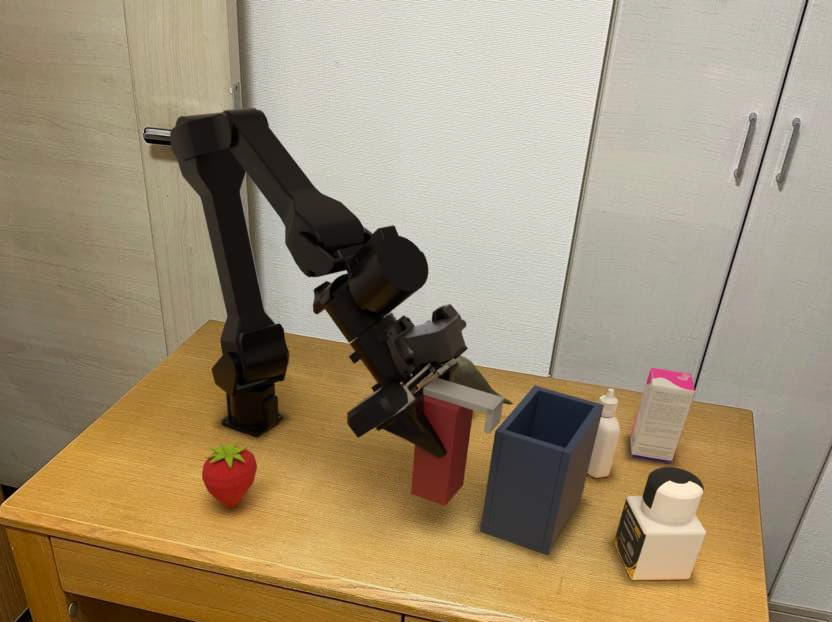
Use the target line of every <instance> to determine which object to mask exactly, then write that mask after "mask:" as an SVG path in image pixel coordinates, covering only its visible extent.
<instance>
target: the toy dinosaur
mask: <svg viewBox="0 0 832 622" xmlns="http://www.w3.org/2000/svg"><path fill="white" fill-rule="evenodd" d="M402 316H403V315H400V318H401V317H402ZM457 362H458V363H459V367H458V368H457V370H456V374H455V378H454V383H456V384H459V385H463V386H466V387H469V388H473V389H476V390H479V391H483V392H486V393H490V394H493V395H496V396H500V397H503V398H504V401H503V405H508V406H509V405H510V406H511V405H514V402H513V401H512V400H511V399H508V398H506V397H504V396H503V395H501V394H500V393H498V391H496V390H495V389H493V388H492V387H491V384H489V381H488V380H487V379H486V377H485V376H484V375H483V374H482V373H481V372H480V371H479V369H477V367H476V365H475V364H474V363H473V362H472V361H471V360H470V359H469V358H467V357H466V356H464V355H460V356H459V357H458V358H456V359H452V360H450V361H449V362H447V365H448V366H449V367H451V366H452V365H454V364H456V363H457ZM410 375H411V373H410ZM418 389H419V388H418V386H417V385H416V386H415V387H414V388H413V389H412V390H411V391H410V392H411V394H412V395H413V393H414V392H415V391H417V390H418ZM413 397H414V396H413ZM414 398H415V399H416V397H414Z"/></svg>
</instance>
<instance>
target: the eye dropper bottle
mask: <svg viewBox="0 0 832 622" xmlns="http://www.w3.org/2000/svg"><path fill="white" fill-rule="evenodd" d="M597 403H599V404H603V405H604V407H603V411H602V415H601V419H600V423H599V427H598V431H597V436H596V440H595V444H594V448H593V452H592V456H591V460H590V464H589V469H588V473H587V475H589V476H590V477H592V478H595V479H600V478H605V477H609V476H610V473H611V469H612V465H613V461H614V457H615V453H616V450H617V447H618V443H619V438H620V434H621V426H620V423H619V420H618V418H617V417H616V416H615V415H616V412H617V408H618V404H619V399H618V398H617V397H615V389H614V388H608V390H607V392H606V394H603V395H601V396H599V398H598V402H597Z"/></svg>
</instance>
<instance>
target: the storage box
mask: <svg viewBox="0 0 832 622" xmlns="http://www.w3.org/2000/svg"><path fill="white" fill-rule="evenodd" d="M603 407H604V405H603V404H599V403H598V402H595V401H591V400H589V399H584V398H580V397H577V396H574V395H570V394H567V393H564V392H561V391H556V390H553V389H548V388H545V387H542V386H538V385H536V384H535V385H533V386H532V387H531V388H530V390H529V391H528V392H527V393H526V394H525V396H523V398H522V399H521V400H520V401H519V402H518V404H517V405H516V406H515V407H514V409H512V411H511V412H510V413H509V414H508V415H507V416H506V418H505V419H504V420H503V421H502V422H501V424H500V425H498V427H497V428H496V429H495V431H494V437H493V444H492V450H491V455H490V463H489V470H488V477H487V483H486V490H485V496H484V503H483V508H482V509H483V510H482V516H481V523H480V530H479V531H480V532H481V533H484V534H486V535H490V536H493V537H495V538H498V539H500V540H504V541H507V542H510V543H513V544H516V545H518V546H521V547H524V548H526V549H530V550H532V551H535V552H538V553H540V554H544V555H546V556H548V555H549V554H550V553H551V551H552V550H553V548H554V546H555V545H556V543H557V541H558V539H559V538H560V537H561V535H562V533H563V531H564V530H565V528H566V527H567V525H568V523H569V522H570V519H571V518H572V516H573V515H574V513H575V512H576V510H577V509H578V506H579V505H580V503H581V501H582V497H583V493H584V490H585V489H584V488H585V484H586V480H587V476H588V474H587V473H588V469H589V464H590V460H591V456H592V452H593V448H594V444H595V440H596V436H597V431H598V427H599V423H600V419H601V415H602V411H603Z"/></svg>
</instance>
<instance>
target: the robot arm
mask: <svg viewBox="0 0 832 622" xmlns="http://www.w3.org/2000/svg"><path fill="white" fill-rule="evenodd" d="M169 141H170V148H171V150H172V153H173V155H174V157H175V158H176V160H177V164H178V167H179V169H180V174H181V176H182V177H183V179H184V180H185V181H186V182H187V183H188V184H189V186H190V188H192V189H193V191H194V192H195V193H196V194H197V196H199V199H200V201H201V206H202V210H203V212H204V213H203V214H204V219H205V223H206V227H207V232H208V237H209V241H210V245H211V250H212V254H213V259H214V263H215V268H216V272H217V276H218V280H219V285H220V289H221V294H222V298H223V299H222V300H223V302H224V307H225V311H226V320H225V322H224V326H223V330H222V333H221V335H220V338H219V340H220V341H219V342H220V347H221V349H220V350H221V357H220V358H218V360H217V361H216V362H215V364H214V365H213V366H212V367H211V374H212V377H213V381H214V384H215V385H216V386H217V387H219V388H220V390H223V392H225V397H226V398H225V399H226V409H227V416H224V418H221V420H220V421H221V422H220V424H221V425H222V426H225V427H228V428H231V429H234V430H237V431H240V432H243V433H245V434H249V435H251V436H254V437H259V436H261V435H263V434H264V433H265V432H267V430H269V429H271V428H272V427H273V426H274V425H276V424H277V423H279V422H280V421H281V420H283V418H284V414H283V413H282V412H281V413H280V412H279V398H278V397H279V396H278V394H276V383H278V382H280V383H281V382H284V381H285V379H286V374H287V370H288V366H289V361H290V351H289V348H288V346H287V341H286V336H285V335H286V334H285V329H284V327H283V325H282V324H281V323H280V322H278V323H276V322H275V321H274V320H273V319H272V317H270V315H269V314H268V313H267V312H266V309H265V306H264V300H263V296H262V291H261V287H260V281H259V277H258V272H257V267H256V262H255V257H254V252H253V247H252V242H251V238H250V233H249V228H248V223H247V218H246V214H245V213H246V212H245V208H244V204H243V199H242V192H241V191H242V188H243V184H244V181H245V178H246V175H248V176H249V178H250V179H251V180H252V182H253V183H254V185H255V186H256V187H257V188H258V190H259V192H261V194H262V195H263V197H264V198H265V199H266V201H267V202H268V203H269V205H270V206H271V207H272V209H273V210H274V212H275V213H276V215H278V217H279V218H280V221H281V222H282V224H283V225H284V244H285V247H286V248H287V249H288V252H289V253H290V255H291V257H292V259H293V261H294V263H295V265H297V267H298V269H299V270H300V271H301V272H302V273H303V275H304V276H306V277H308V278H320V277H324V276H328V275H333V274H338V273H341V272H346V273H343V274H341V275H339V276H337V277H336V278H335V279H334V280H332V282H331V281H328V280H325V281H324V282H322V283H320V284H319V285H318V286H316V287H315V288H313V297H314V298H313V302H312V313H314V314H315V315H319V314H321V313H322V312H323V311H325V312H326V313H327V314H328V316H329V318H331V321H332V322H333V323H334V324H335V326H336V327H337V328H338V330H339V331H340V333H341V334H342V335H343V337H344V338H345V340H346V341H347V343H349V345H350V347H351V348H352V349H353V351H354V352H352V353H351V354H350V355H348V358H349V359H350V360H351V362H352V364H353V365H354V364H356V363H358V362H359V361H361V363H363V365H364V367H365V368H366V369H367V371H368V372H369V374H371V376H372V377H373V379H374V380H375V382H376V383H374V384H373V385H372V386H370V389H371V390H372V391H373V392H371V394H369V395H367V396H366V397H365V398H363V399H362V400H361V401H359V402H358V403H357V404H356V405H355V406H354V407H352V408H351V409H350V410H349V411H348V412H347V413H346V414H347V415H346V424H347V426H348V427H349V428H350V430H351V431H352V433H353V434H354V435H355V437H356V438H357V439H359V438H361V437H362V436H364V435H366V434H367V433H369V432H370V431H372V430H373V429H375V430H376V431H377V432H380V431H381V430H383V431H385V432H388V433H390V434H392V435H394V436H396V437H398V438H401V439H403V440H404V441H407V442H409V443H411V444H413V445H414V446H415V445H416V446H418V447H420V448H421V449H423V450H425V451H427V452H429V453H430V454H432V455H434V456H436V457H438V458H442V457H444V456H445V455H446V454H447V452H446V450H445V448H444V446H443V444H442V442H441V440H440V438H439V437H438V435H437V433H436V432H435V430H434V429H433V427H432V425H431V424H430V422H429V420H428V419H427V417H426V415H425V414H424V411H423V409H424V394H423V389H424V387H425V386H427V385H428V384H429V383H430V382H431V381H432V380H433V379H434V378H439V379H443V380H446V381H449V382H453V383H454V378H455V374H456V370H457V368H458V367H459V363H458V362H457V363H456V364H454V365H452V366H451V367H449V366H448V365H447V362H449V361H450V360H452V359H456V358H458V357H459V356H460V355H461V356H463V354H464V353H465V352H466V351H468V349H469V348H468V346H467V344H466V342H465V339H464V338H465V337H464V335H463V330H464V329H465V328H466V327H467V322H466V320H464V319H463V318H462V317H461V314H460V313H459V312H458V311H457V310H456V308H455V307H454V306H453V305H452V304H451V303H448V304H444V305H440V306H438V307H437V308H436V309H434V310H433V311H432V313H431V319H429V320H427V321H425V322H423V323H421V324H416V325H415V324H414V323H413V321H412V320H411V318H410V317H408V316H406V315H405V314H404V315H401V316H402V317H401V316H400V318H398V317H397V316H396V314H394V312H393V311H394V310H395V309H396V308H398V307H399V306H400V305H402V304H403V303H404V302H405V301H407V300H408V299H409V298H410V297H412V296H413V295H414V294H416V293H417V292H418V291H420V289H422V288H423V287H424V286H425V284H426V283H427V281H428V279H429V263H428V260H427V256H426V255H425V253H424V252H423V251H422V250H421V249H420V248H419V247H418V246H417V245H416V244H415V243H414V242H413V241H412V240H410V239H409V238H406V237H404V236H401V235H399V233H398V230H397V228H396V226H395V225H394V224H392V225H388V226H382V227H378V228H377V229H376V230H375V231H374V232H372V231H370V230H369V229H368V228H366V227H365V226H364V225H363V223H362V221H361V220H360V219H359V218H358V216H357V215H356V214H354V213H353V212H352V211H351V210H350V209H349V208H348V206H346V205H345V204H344V203H343V202H342V201H340V200H338V199H336V198H333V197H331V196H328V195H326V194H324V193H322V192H321V191H320V190H319V189H318V188H317V187H316V186H315V185H314V184H313V182H312V181H311V180H310V179H309V177H308V176H307V174H306V173H305V172H304V171H303V169H302V168H301V167H300V165H299V164H298V163H297V161H296V160H295V159H294V158H293V156H292V155H291V154H290V153H289V151H288V149H287V148H286V147H285V146H284V144H283V143H282V142H281V141H280V139H279V138H278V136H277V135H276V134H275V133H274V131H273V130H272V129H271V128H270V124H269V121H268V118H267V116H266V114H265V113H264V111H262V110H261V109H257V108H256V107H244V108H232V109H225V110H223V111H222V112H221V111H220V112H212V113H211V112H210V113H201V114H200V113H199V114H190V115H189V114H188V115H181V116H179V117H177V119H176V122H175V125H174V127H173V128H172V129H171V130H170V134H169ZM410 373H411V375H410ZM416 385H417V386H418V388H419V389H418V390H417V391H415V392H414V393H413V395H412V394H411V392H410V391H411V390H412V389H413V388H414V387H415V386H416ZM413 396H414V397H416V399H415V398H414V397H413Z"/></svg>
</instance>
